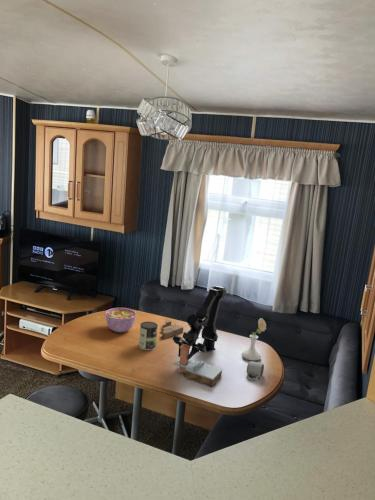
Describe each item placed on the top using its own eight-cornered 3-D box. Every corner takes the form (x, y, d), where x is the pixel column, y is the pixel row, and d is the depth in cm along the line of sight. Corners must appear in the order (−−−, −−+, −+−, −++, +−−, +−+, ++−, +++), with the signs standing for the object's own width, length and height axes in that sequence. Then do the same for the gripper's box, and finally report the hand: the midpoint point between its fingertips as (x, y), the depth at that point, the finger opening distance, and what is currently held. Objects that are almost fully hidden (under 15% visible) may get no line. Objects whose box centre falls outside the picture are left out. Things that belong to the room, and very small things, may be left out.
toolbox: (184, 377, 208) (185, 370, 207) (194, 367, 219) (195, 361, 218) (212, 387, 201) (212, 380, 200) (221, 377, 212) (221, 370, 211)
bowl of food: (110, 322, 269) (111, 305, 267) (138, 326, 267) (139, 310, 265) (99, 333, 250) (100, 316, 248) (130, 338, 248) (131, 321, 245)
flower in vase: (248, 363, 230) (254, 323, 224) (237, 354, 239) (242, 315, 234) (266, 360, 236) (272, 321, 230) (255, 351, 245) (260, 313, 240)
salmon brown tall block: (181, 367, 218) (183, 343, 215) (188, 369, 216) (190, 346, 213) (177, 370, 214) (180, 346, 211) (184, 372, 212) (187, 348, 210)
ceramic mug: (248, 370, 222) (250, 357, 220) (263, 374, 219) (265, 361, 217) (243, 379, 212) (245, 366, 211) (258, 383, 209) (260, 370, 208)
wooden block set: (184, 325, 263) (165, 331, 250) (184, 333, 264) (164, 340, 251) (167, 317, 274) (147, 322, 261) (166, 324, 275) (146, 330, 262)
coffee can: (157, 344, 243) (159, 322, 240) (153, 351, 233) (154, 329, 230) (141, 341, 245) (143, 320, 242) (136, 348, 235) (138, 326, 232)
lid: (171, 365, 211) (172, 361, 211) (182, 357, 221) (182, 353, 221) (212, 380, 201) (213, 375, 200) (221, 370, 211) (222, 366, 210)
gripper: (175, 321, 218) (163, 347, 210) (206, 330, 210) (194, 357, 202) (181, 330, 226) (169, 355, 219) (210, 339, 218) (200, 365, 211)
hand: (183, 358), depth 212 cm, fingers open, 5 cm apart
